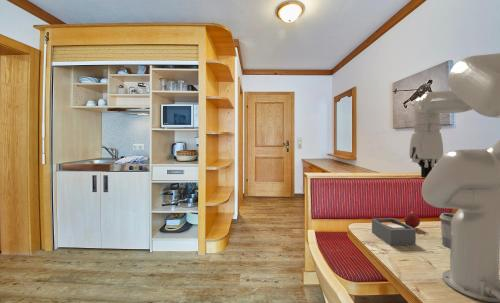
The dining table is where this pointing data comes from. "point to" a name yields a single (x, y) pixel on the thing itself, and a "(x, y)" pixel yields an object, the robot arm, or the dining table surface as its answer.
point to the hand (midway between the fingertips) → (426, 177)
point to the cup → (446, 228)
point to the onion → (411, 220)
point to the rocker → (393, 225)
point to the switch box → (394, 232)
